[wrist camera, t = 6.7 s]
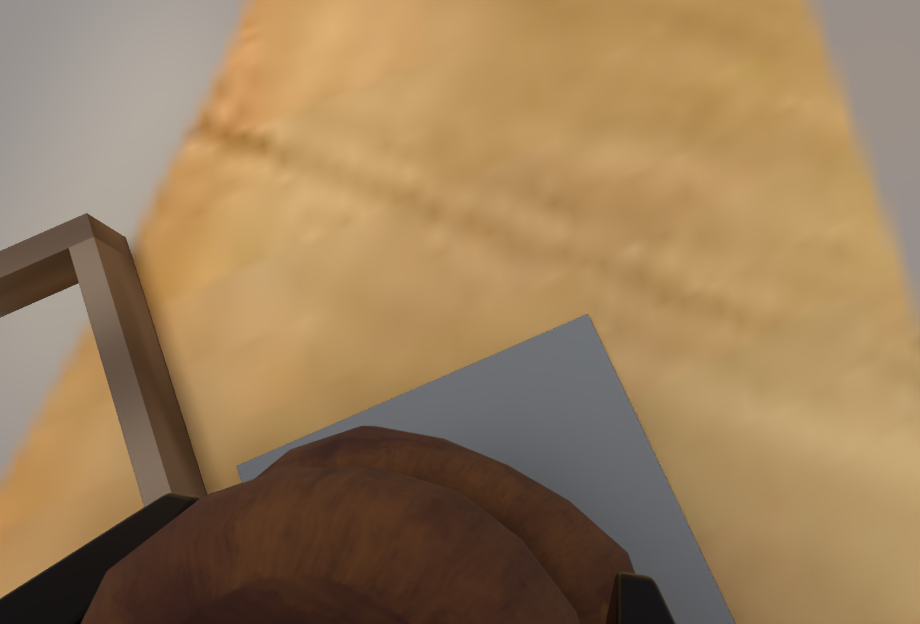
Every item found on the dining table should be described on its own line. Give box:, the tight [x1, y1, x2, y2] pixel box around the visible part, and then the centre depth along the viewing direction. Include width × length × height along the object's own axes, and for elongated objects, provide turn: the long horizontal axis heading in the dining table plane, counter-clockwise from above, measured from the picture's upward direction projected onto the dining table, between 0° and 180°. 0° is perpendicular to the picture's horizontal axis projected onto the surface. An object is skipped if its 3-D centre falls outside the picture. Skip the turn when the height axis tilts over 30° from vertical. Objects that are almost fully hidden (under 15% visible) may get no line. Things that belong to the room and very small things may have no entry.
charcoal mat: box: [237, 314, 735, 624], centre depth 22 cm, size 11×11×1 cm
